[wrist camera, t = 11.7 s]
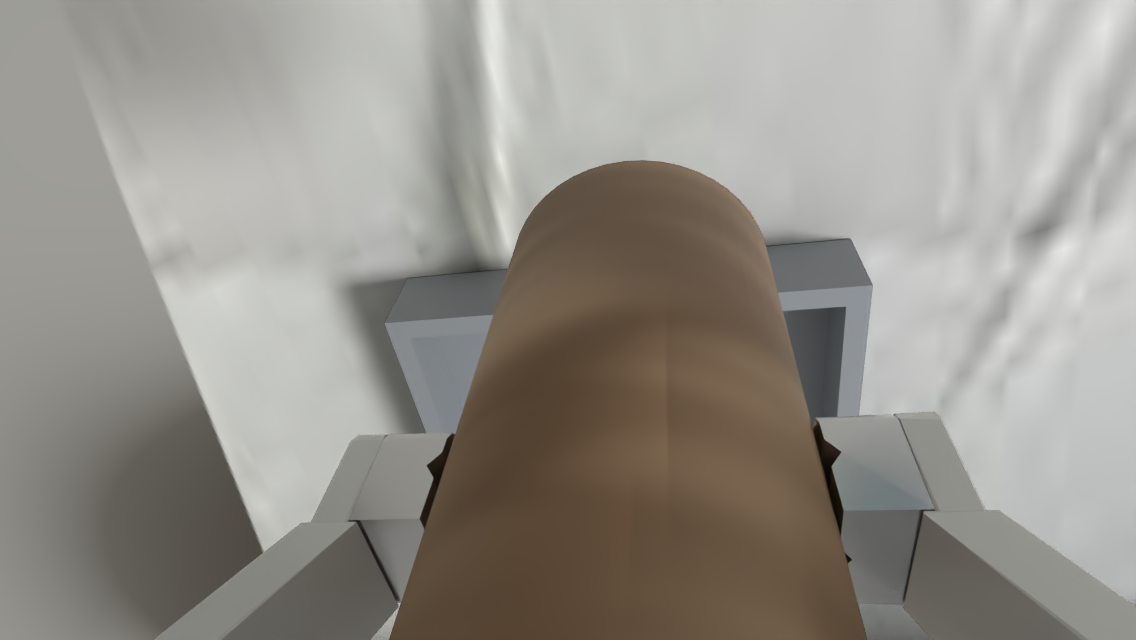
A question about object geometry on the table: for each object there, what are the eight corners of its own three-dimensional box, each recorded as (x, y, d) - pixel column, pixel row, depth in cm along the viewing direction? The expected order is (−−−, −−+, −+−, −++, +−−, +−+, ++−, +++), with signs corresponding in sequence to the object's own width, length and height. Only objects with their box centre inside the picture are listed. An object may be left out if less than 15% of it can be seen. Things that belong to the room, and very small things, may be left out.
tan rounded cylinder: (770, 146, 12) (949, 659, 5) (767, 370, 15) (876, 906, 8) (488, 175, 13) (270, 650, 6) (537, 382, 16) (435, 875, 8)
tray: (850, 238, 33) (872, 284, 30) (826, 536, 45) (839, 591, 42) (407, 278, 36) (384, 323, 33) (498, 542, 49) (487, 594, 46)
